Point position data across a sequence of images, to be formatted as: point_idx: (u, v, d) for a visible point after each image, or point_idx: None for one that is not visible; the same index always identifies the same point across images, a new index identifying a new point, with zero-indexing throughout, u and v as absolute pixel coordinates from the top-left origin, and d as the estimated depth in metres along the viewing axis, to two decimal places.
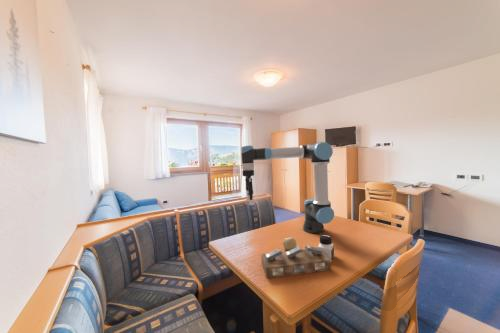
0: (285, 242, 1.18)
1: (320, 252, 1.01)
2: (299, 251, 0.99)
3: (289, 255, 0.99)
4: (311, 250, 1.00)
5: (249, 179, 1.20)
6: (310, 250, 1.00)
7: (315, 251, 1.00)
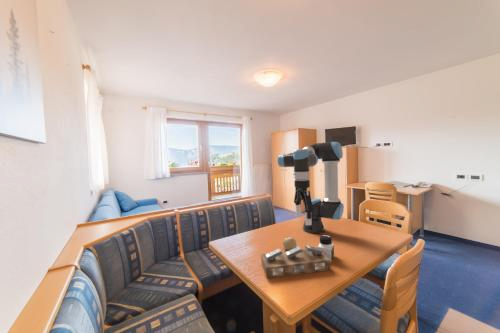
0: (285, 242, 1.18)
1: (320, 252, 1.01)
2: (299, 251, 0.99)
3: (289, 255, 0.99)
4: (311, 250, 1.00)
5: (307, 192, 0.94)
6: (310, 250, 1.00)
7: (315, 251, 1.00)
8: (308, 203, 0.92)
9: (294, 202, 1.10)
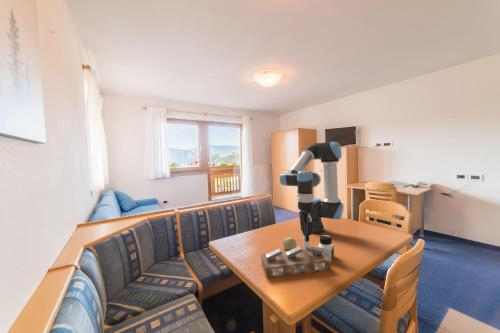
0: (285, 242, 1.18)
1: (320, 252, 1.01)
2: (299, 251, 0.99)
3: (289, 255, 0.99)
4: (311, 250, 1.00)
5: (310, 220, 0.94)
6: (310, 250, 1.00)
7: (315, 251, 1.00)
8: (308, 229, 0.96)
9: (301, 230, 1.03)
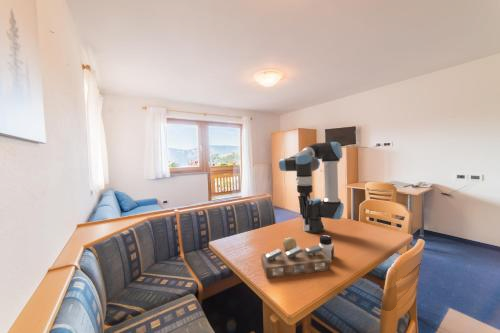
0: (285, 242, 1.18)
1: (320, 249, 1.01)
2: (299, 251, 0.99)
3: (289, 255, 0.99)
4: (311, 252, 1.00)
5: (309, 202, 0.94)
6: (310, 252, 1.00)
7: (315, 251, 1.00)
8: (308, 211, 0.96)
9: (301, 214, 1.03)
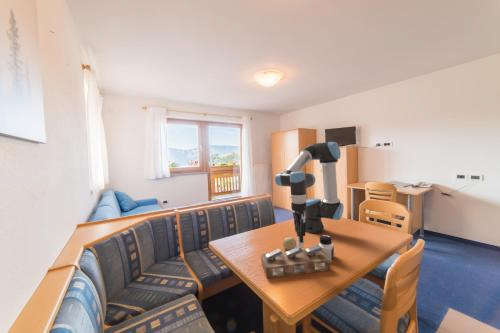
0: (285, 242, 1.18)
1: (320, 248, 1.01)
2: (299, 251, 0.99)
3: (289, 255, 0.99)
4: (311, 252, 1.00)
5: (303, 221, 0.94)
6: (310, 252, 1.00)
7: (315, 251, 1.00)
8: (302, 230, 0.96)
9: (295, 231, 1.03)
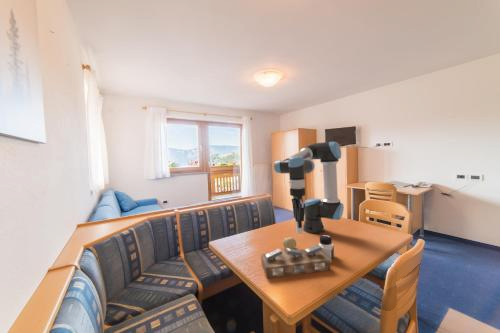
0: (285, 242, 1.18)
1: (320, 248, 1.01)
2: (299, 254, 0.99)
3: (289, 252, 0.99)
4: (311, 252, 1.00)
5: (302, 206, 0.94)
6: (310, 252, 1.00)
7: (315, 251, 1.00)
8: (300, 215, 0.96)
9: (294, 217, 1.03)
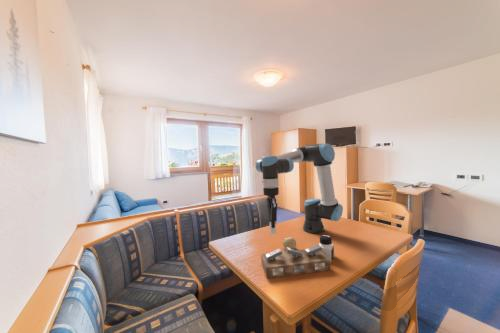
0: (285, 242, 1.18)
1: (320, 248, 1.01)
2: (299, 255, 0.99)
3: (289, 251, 0.99)
4: (311, 252, 1.00)
5: (274, 205, 0.92)
6: (310, 252, 1.00)
7: (315, 251, 1.00)
8: (273, 214, 0.94)
9: None
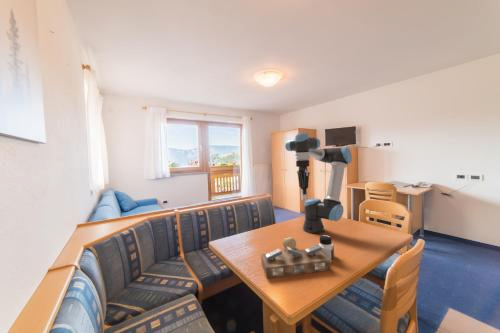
0: (285, 242, 1.18)
1: (320, 248, 1.01)
2: (299, 255, 0.99)
3: (290, 250, 0.99)
4: (311, 252, 1.00)
5: (306, 174, 1.10)
6: (310, 252, 1.00)
7: (315, 251, 1.00)
8: (305, 182, 1.12)
9: (299, 186, 1.19)
